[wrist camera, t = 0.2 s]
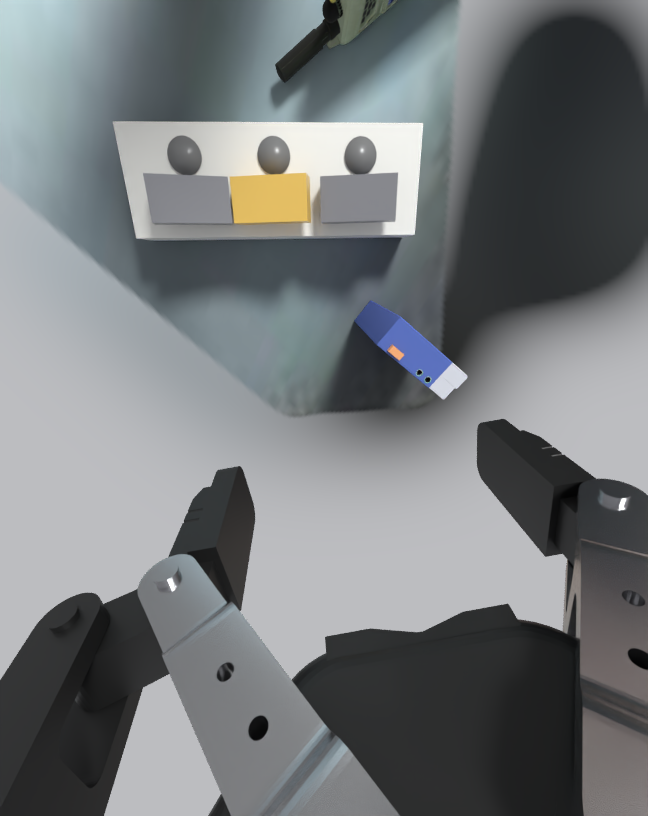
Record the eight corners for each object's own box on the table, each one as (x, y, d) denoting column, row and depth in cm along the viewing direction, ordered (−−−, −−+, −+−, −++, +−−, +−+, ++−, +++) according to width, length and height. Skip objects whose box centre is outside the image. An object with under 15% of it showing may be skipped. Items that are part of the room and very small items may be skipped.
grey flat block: (146, 177, 27) (142, 173, 25) (227, 180, 28) (227, 176, 27) (155, 224, 28) (152, 222, 27) (231, 225, 30) (232, 223, 28)
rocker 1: (236, 180, 28) (229, 176, 27) (309, 177, 28) (306, 172, 26) (241, 225, 30) (234, 223, 28) (310, 222, 29) (307, 221, 27)
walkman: (353, 321, 38) (377, 346, 27) (370, 299, 37) (402, 317, 26) (405, 364, 40) (447, 404, 29) (422, 345, 39) (471, 378, 28)
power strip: (135, 138, 30) (111, 120, 26) (408, 138, 32) (423, 122, 28) (154, 240, 33) (135, 238, 30) (402, 237, 35) (415, 234, 31)
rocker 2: (322, 180, 29) (320, 176, 27) (396, 176, 28) (398, 172, 27) (323, 224, 30) (320, 222, 29) (394, 222, 29) (395, 220, 28)
